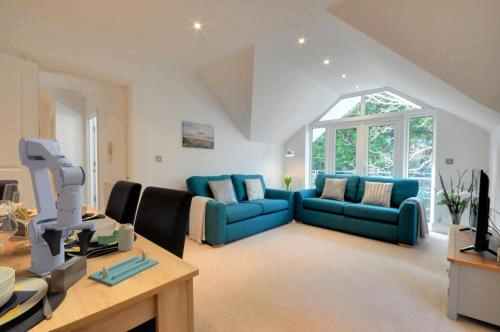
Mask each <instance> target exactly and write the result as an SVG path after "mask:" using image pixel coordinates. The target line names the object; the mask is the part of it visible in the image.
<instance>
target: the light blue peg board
mask: <svg viewBox="0 0 500 332" xmlns="http://www.w3.org/2000/svg"><path fill="white" fill-rule="evenodd" d="M157 264H159V260H155V259H152V258H148V257H147V251H146V250H143V251H141V255H134V256H132V257H129V258H127V259H125V260H123V261H120V262H118V263H115V264H113V265H111V266H103V268H102V269H101V270H99V271H96V272H94V273H92V274H89V276H88V278H90V279H93V280H95V281H98V282H100V283H103V284H106V285H108V286H111V287H114V286H116V285H117V284H120V283H122V282H124V281H126V280H128V279H129V278H131V277H134V276H136V275H137V274H139V273H142V272H143V271H146V270H148V269H150V268H152V267H154V266H156V265H157Z"/></svg>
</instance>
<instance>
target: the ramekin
mask: <svg viewBox="0 0 500 332" xmlns="http://www.w3.org/2000/svg"><path fill="white" fill-rule="evenodd" d="M113 230H114V229H113ZM96 236H97V235H96ZM116 241H118V230H117V229H115V230H114V232H113V235H112V236H97V245H98V244H110V243H113V242H116Z"/></svg>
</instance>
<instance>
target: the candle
mask: <svg viewBox="0 0 500 332" xmlns="http://www.w3.org/2000/svg"><path fill="white" fill-rule="evenodd" d="M134 246H135V227H134V225H132V224H131V223H125V224H124V223H122V224H121V225H120V227H118V246H117V247H118V248H117V249H118V251H119V252H127V251H132V250H133V249H134V248H135V247H134Z"/></svg>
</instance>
